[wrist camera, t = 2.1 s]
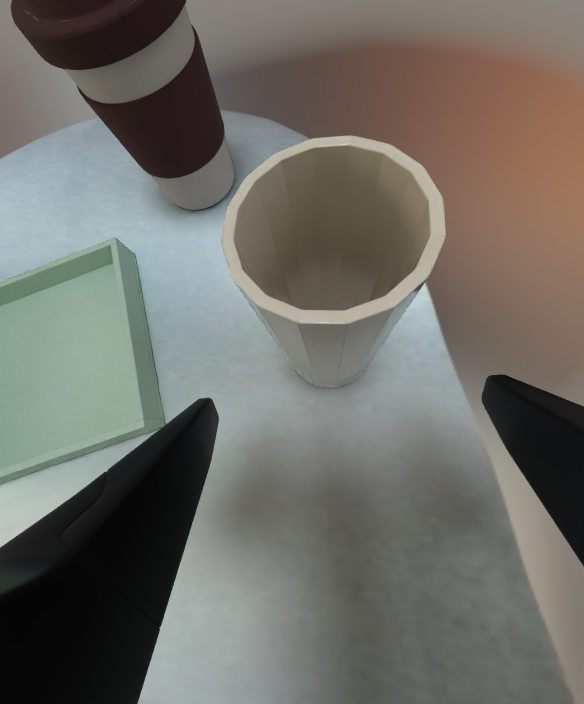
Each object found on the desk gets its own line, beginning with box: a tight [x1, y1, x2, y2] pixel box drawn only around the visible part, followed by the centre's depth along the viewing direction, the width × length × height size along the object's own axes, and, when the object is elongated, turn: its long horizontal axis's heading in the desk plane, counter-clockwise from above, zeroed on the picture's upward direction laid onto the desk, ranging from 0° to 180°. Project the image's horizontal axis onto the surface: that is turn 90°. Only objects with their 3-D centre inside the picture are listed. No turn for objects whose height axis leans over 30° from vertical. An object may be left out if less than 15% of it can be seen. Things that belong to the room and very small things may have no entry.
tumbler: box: [221, 135, 446, 388], centre depth 14 cm, size 6×6×14 cm
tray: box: [0, 238, 165, 484], centre depth 23 cm, size 17×15×2 cm
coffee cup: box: [11, 0, 235, 210], centre depth 20 cm, size 10×10×15 cm
